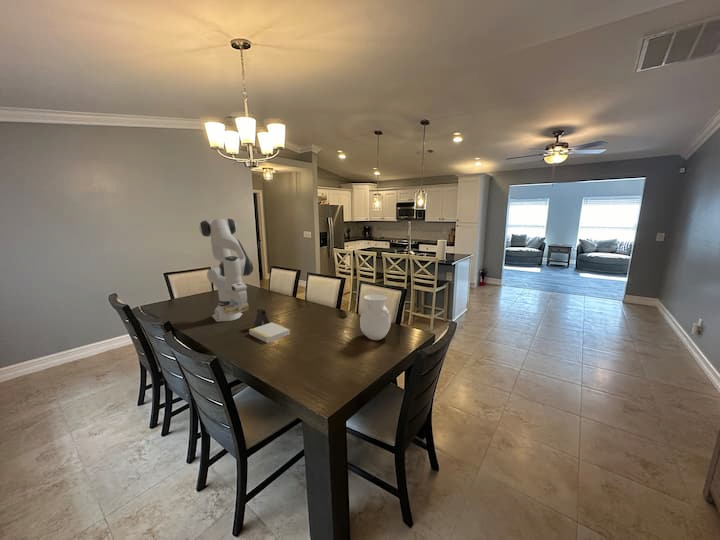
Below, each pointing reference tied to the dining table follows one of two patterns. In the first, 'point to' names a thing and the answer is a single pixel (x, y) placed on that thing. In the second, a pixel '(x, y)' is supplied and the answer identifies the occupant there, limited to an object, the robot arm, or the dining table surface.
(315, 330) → the dining table surface
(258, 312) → the phone stand
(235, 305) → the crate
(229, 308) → the pallet
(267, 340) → the dock
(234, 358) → the dining table surface
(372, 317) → the white vase
